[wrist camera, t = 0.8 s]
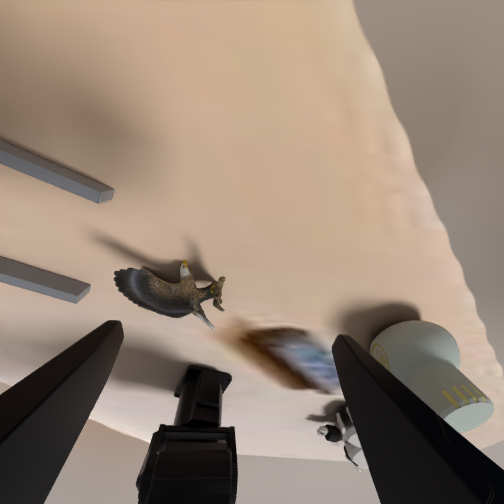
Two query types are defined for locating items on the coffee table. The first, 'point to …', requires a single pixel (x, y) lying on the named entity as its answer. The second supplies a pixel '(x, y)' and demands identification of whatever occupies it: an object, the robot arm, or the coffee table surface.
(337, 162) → the coffee table surface
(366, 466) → the robot toy
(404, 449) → the robot arm
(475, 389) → the air freshener
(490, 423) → the coffee table surface
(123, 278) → the eagle figurine
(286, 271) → the coffee table surface
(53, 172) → the pocket
